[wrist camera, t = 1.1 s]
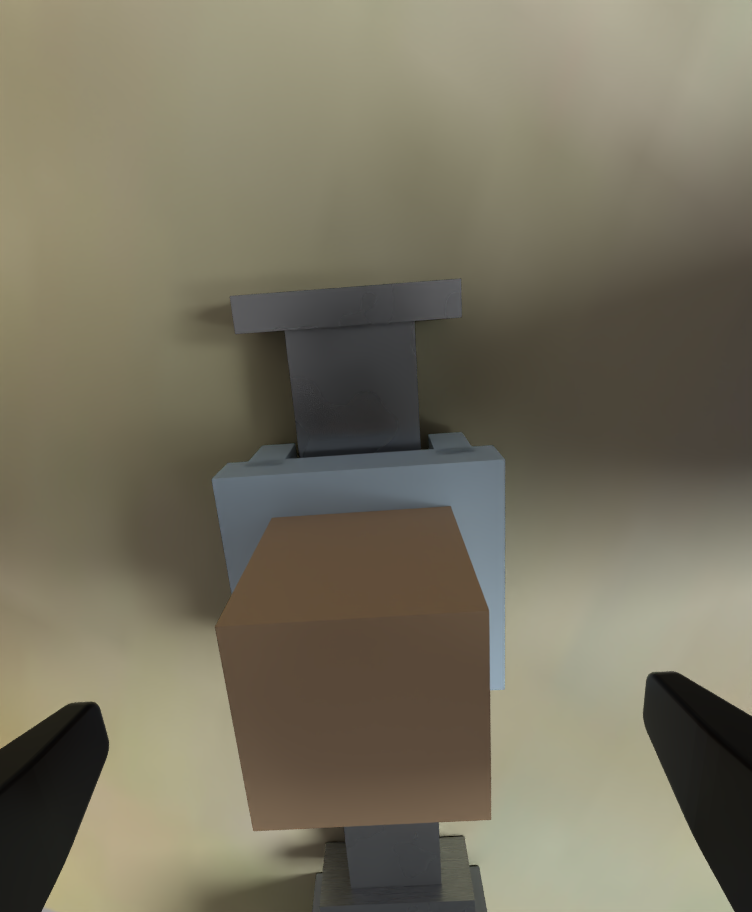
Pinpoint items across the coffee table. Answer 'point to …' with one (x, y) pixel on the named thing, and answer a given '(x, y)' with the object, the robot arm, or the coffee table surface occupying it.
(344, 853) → the rail
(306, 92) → the coffee table surface
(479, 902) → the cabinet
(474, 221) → the coffee table surface
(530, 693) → the coffee table surface
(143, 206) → the coffee table surface
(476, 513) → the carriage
